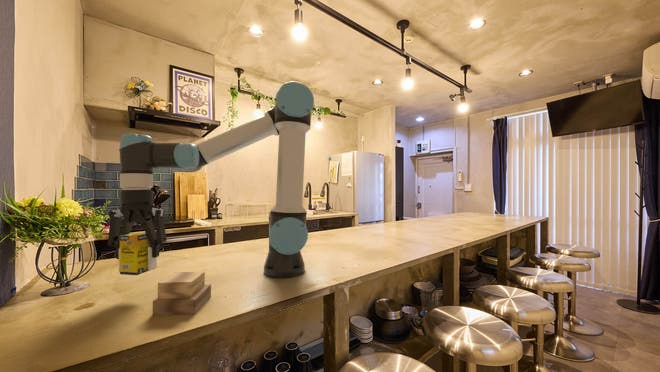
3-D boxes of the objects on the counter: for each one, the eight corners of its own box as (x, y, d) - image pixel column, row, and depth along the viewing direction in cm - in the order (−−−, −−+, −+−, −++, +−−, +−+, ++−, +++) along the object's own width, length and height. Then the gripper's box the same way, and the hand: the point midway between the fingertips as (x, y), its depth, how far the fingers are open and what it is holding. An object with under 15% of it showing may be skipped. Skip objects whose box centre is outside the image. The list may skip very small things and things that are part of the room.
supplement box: (137, 275, 69) (136, 235, 69) (119, 274, 70) (118, 235, 70) (156, 268, 74) (155, 231, 75) (139, 268, 76) (138, 231, 76)
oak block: (204, 285, 71) (204, 271, 71) (191, 298, 63) (191, 282, 63) (174, 286, 71) (175, 272, 71) (157, 299, 63) (157, 282, 63)
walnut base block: (210, 298, 72) (211, 284, 72) (195, 315, 62) (195, 299, 62) (174, 299, 72) (174, 285, 72) (152, 317, 62) (152, 300, 62)
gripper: (180, 188, 77) (181, 264, 77) (110, 189, 75) (111, 267, 75) (166, 188, 69) (167, 272, 69) (88, 189, 68) (89, 275, 68)
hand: (138, 269), depth 72 cm, fingers closed on supplement box, 7 cm apart
